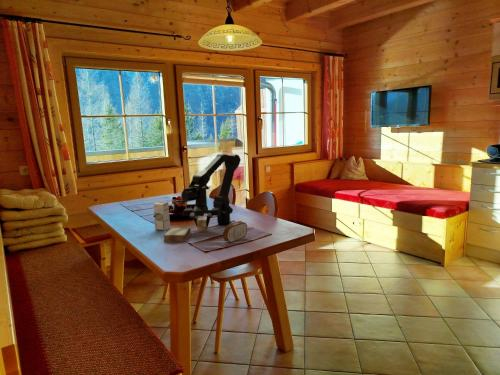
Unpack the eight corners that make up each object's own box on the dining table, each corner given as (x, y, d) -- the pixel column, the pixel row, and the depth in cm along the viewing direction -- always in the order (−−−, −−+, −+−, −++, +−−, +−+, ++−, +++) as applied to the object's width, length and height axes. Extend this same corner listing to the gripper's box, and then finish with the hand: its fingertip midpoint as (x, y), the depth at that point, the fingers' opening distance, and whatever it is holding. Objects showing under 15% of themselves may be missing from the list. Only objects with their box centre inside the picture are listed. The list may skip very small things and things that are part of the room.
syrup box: (170, 227, 185) (168, 201, 182) (164, 230, 179) (162, 203, 177) (161, 227, 187) (159, 201, 184) (155, 230, 181) (153, 203, 179)
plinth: (190, 233, 173) (190, 227, 173) (185, 241, 162) (184, 235, 161) (171, 234, 174) (170, 227, 173) (164, 241, 162) (163, 235, 162)
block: (207, 228, 181) (207, 217, 180) (206, 231, 177) (205, 220, 176) (199, 229, 181) (198, 218, 180) (197, 231, 177) (196, 220, 176)
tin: (243, 235, 169) (243, 218, 167) (248, 236, 167) (248, 219, 165) (222, 243, 158) (221, 226, 156) (227, 245, 156) (227, 227, 154)
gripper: (179, 202, 169) (181, 232, 171) (216, 201, 168) (218, 232, 170) (184, 197, 180) (186, 226, 182) (219, 197, 179) (221, 226, 181)
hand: (202, 227), depth 179 cm, fingers closed on block, 4 cm apart
